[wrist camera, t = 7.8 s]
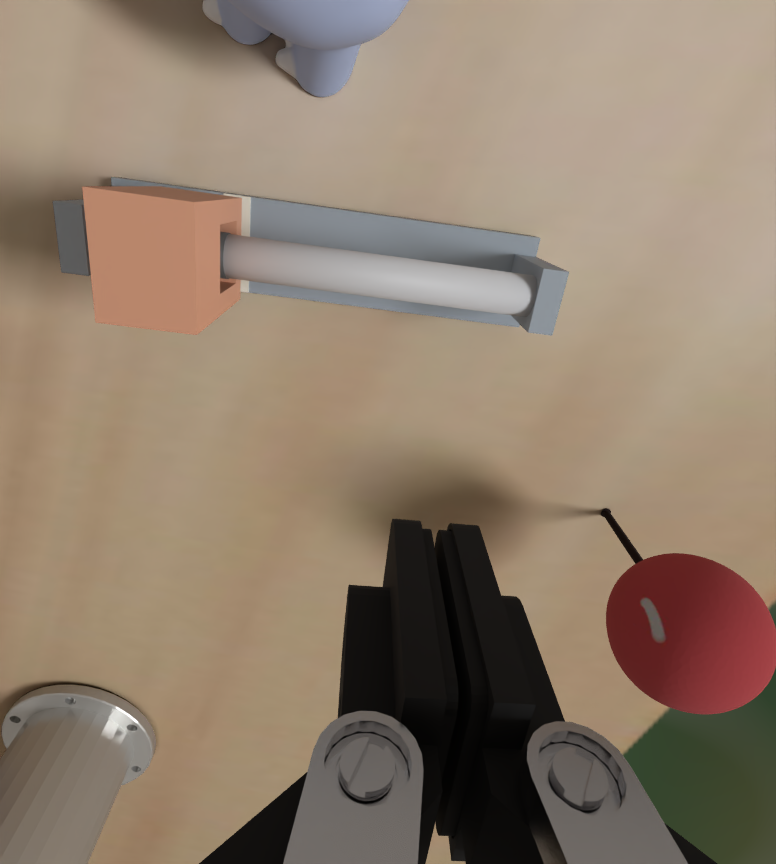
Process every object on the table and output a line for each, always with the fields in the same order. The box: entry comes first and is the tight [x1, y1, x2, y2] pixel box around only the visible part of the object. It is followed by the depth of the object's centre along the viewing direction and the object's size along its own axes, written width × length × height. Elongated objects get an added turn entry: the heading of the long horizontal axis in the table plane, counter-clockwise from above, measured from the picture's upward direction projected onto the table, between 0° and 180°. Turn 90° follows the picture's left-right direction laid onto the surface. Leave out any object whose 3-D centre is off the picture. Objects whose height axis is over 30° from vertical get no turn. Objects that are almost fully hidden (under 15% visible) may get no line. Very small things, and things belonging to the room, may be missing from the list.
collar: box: [82, 186, 242, 335], centre depth 24 cm, size 5×4×8 cm
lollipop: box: [601, 509, 776, 714], centre depth 31 cm, size 8×8×15 cm
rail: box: [53, 177, 569, 335], centre depth 27 cm, size 5×23×7 cm, turn 82°
